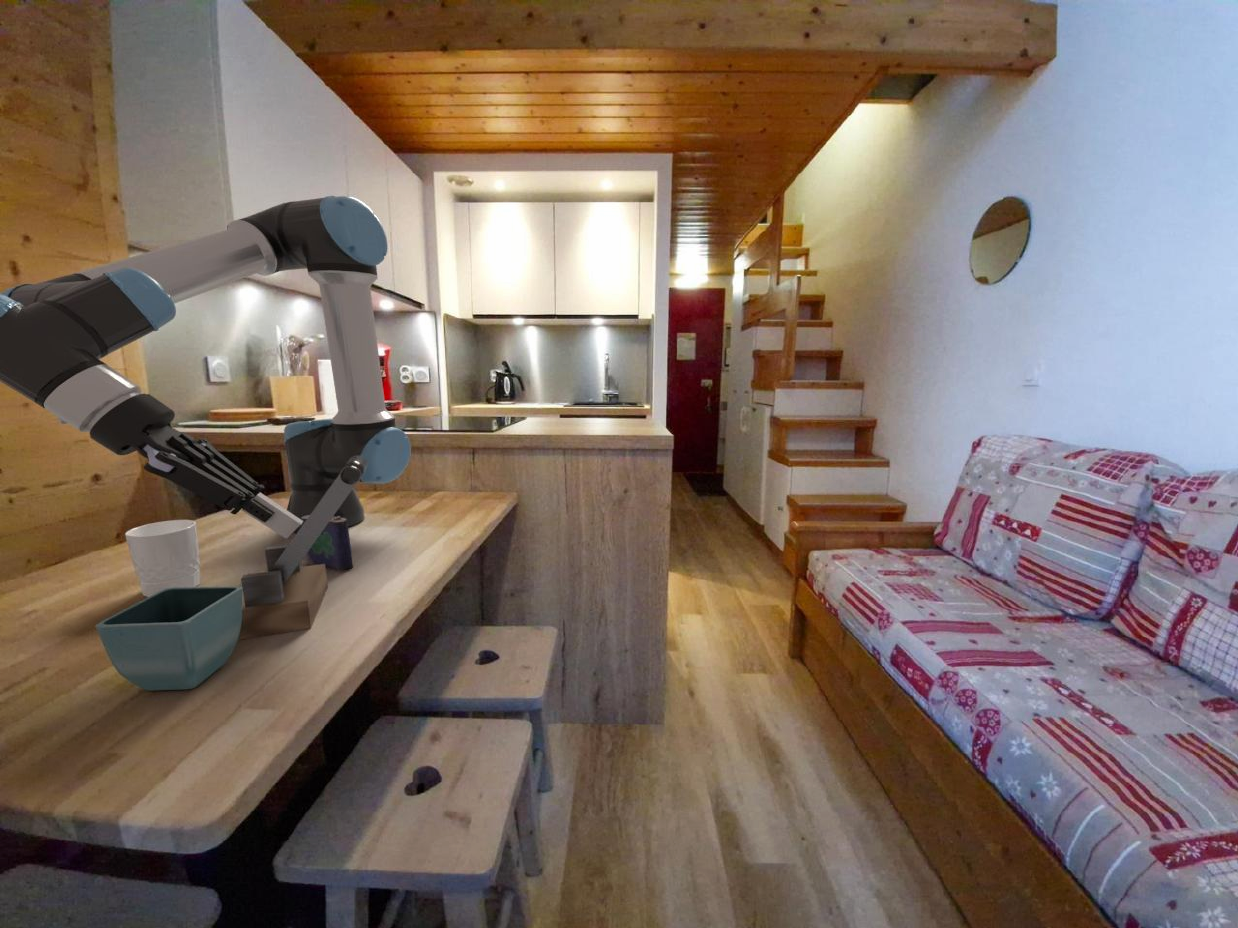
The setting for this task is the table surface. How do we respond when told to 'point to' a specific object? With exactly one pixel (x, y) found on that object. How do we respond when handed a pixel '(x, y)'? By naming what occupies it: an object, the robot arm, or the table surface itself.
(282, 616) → the base
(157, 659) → the flower pot
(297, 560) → the lever
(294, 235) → the robot arm
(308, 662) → the table surface
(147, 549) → the white cup
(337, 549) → the flask
